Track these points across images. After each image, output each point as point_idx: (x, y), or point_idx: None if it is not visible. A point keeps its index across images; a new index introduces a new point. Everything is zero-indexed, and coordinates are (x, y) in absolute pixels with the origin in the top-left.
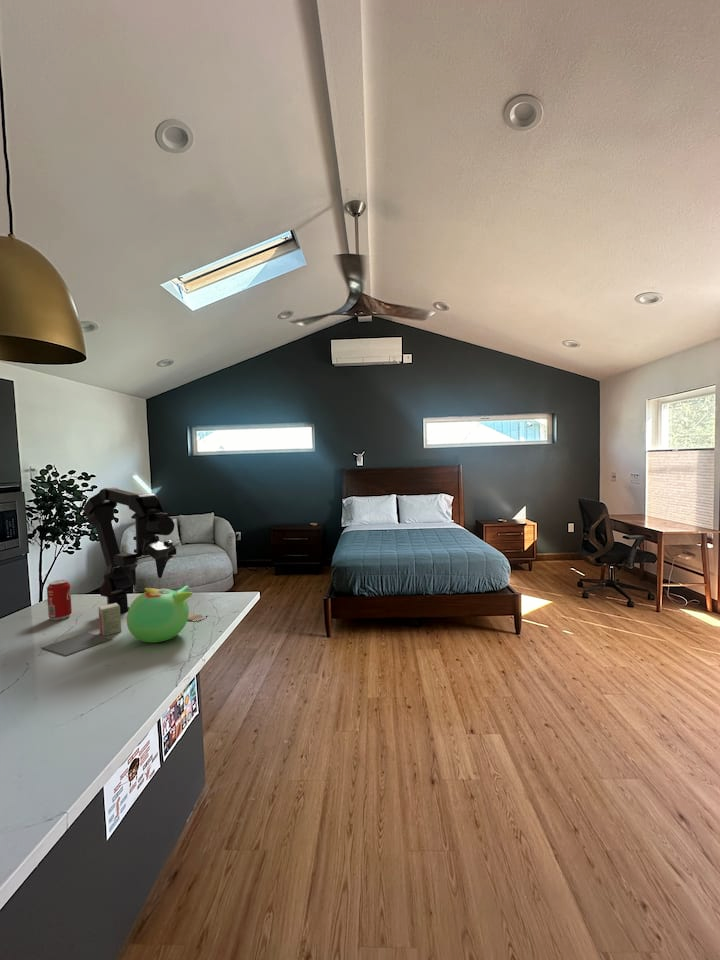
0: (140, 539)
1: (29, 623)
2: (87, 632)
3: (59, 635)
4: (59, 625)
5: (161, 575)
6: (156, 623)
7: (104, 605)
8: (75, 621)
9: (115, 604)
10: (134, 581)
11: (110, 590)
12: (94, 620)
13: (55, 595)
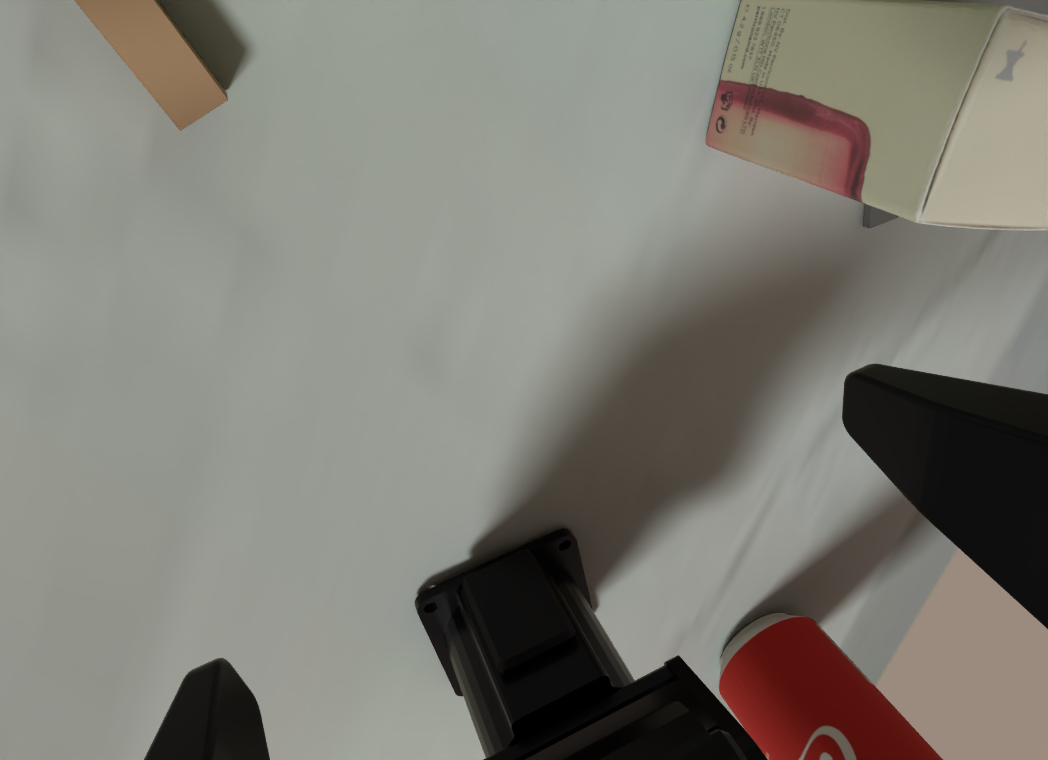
0: None
1: (859, 626)
2: (872, 213)
3: (935, 319)
4: (829, 515)
5: (184, 719)
6: None
7: (1014, 220)
8: (755, 539)
9: (979, 132)
10: (949, 386)
11: (714, 701)
12: (692, 490)
13: (921, 742)
